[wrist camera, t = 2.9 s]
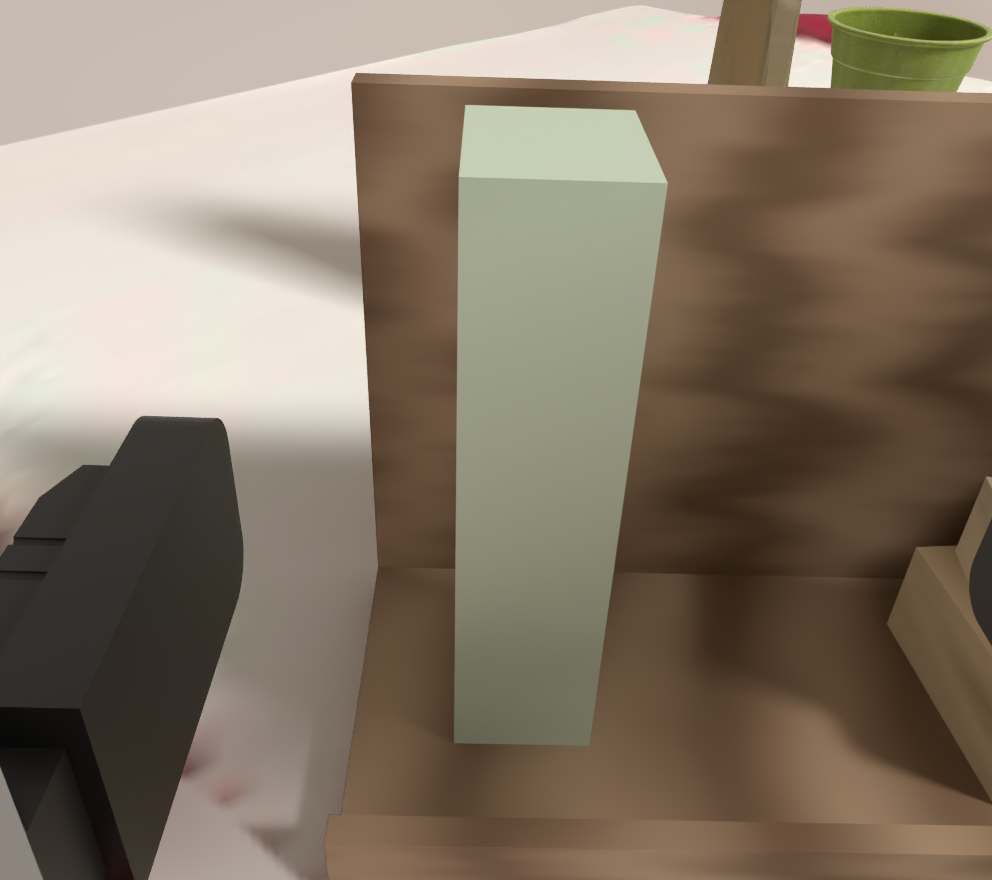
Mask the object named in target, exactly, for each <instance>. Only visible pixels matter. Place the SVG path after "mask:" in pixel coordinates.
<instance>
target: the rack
mask: <svg viewBox="0 0 992 880" xmlns="http://www.w3.org/2000/svg"><path fill="white" fill-rule="evenodd" d="M351 86H352V104H353V122H354V140H355V158H356V176H357V194H358V212H359V230H360V248H361V266H362V284H363V302H364V320H365V338H366V356H367V374H368V392H369V410H370V428H371V446H372V464H373V482H374V500H375V518H376V536H377V554H378V572H377V579H376V585H375V592H374V598H373V605H372V612H371V618H370V625H369V632H368V638H367V645H366V652H365V658H364V665H363V672H362V678H361V685H360V691H359V698H358V705H357V711H356V718H355V725H354V731H353V738H352V745H351V751H350V758H349V764H348V771H347V778H346V784H345V791H344V798H343V804H342V811H341V815H329V816H328V822H327V828H326V834H325V840H324V850H325V857H326V865H327V873H328V880H992V801H991V799H990V798H989V796H988V794H987V793H986V791H985V789H984V788H983V786H982V784H981V782H980V781H979V779H978V777H977V776H976V774H975V772H974V771H973V769H972V767H971V766H970V764H969V762H968V760H967V759H966V757H965V755H964V754H963V752H962V750H961V749H960V747H959V745H958V744H957V742H956V740H955V738H954V737H953V735H952V733H951V732H950V730H949V728H948V727H947V725H946V723H945V722H944V720H943V718H942V716H941V715H940V713H939V711H938V710H937V708H936V706H935V705H934V703H933V701H932V699H931V698H930V696H929V694H928V693H927V691H926V689H925V688H924V686H923V684H922V683H921V681H920V679H919V677H918V676H917V674H916V672H915V671H914V669H913V667H912V666H911V664H910V662H909V661H908V659H907V657H906V655H905V654H904V652H903V650H902V649H901V647H900V645H899V644H898V642H897V640H896V639H895V637H894V635H893V633H892V632H891V630H890V628H889V627H888V625H887V622H888V619H889V617H890V614H891V612H892V609H893V606H894V604H895V601H896V599H897V596H898V593H899V591H900V588H901V586H902V583H903V580H904V578H905V575H906V572H907V570H908V567H909V565H910V562H911V559H912V557H913V554H914V552H915V549H916V547H931V546H957V545H958V543H959V540H960V538H961V536H962V533H963V531H964V528H965V526H966V524H967V521H968V519H969V516H970V514H971V512H972V509H973V507H974V504H975V502H976V500H977V497H978V495H979V492H980V490H981V488H982V485H983V483H984V480H985V478H986V477H992V94H990V93H959V92H928V91H897V90H866V89H835V88H804V87H773V86H742V85H711V84H680V83H649V82H618V81H587V80H556V79H525V78H494V77H463V76H432V75H401V74H370V73H356V74H355V76H354V78H353V80H352V82H351ZM465 105H483V106H515V107H546V108H578V109H609V110H635V111H636V113H637V115H638V117H639V120H640V122H641V124H642V126H643V129H644V131H645V133H646V135H647V138H648V140H649V142H650V144H651V147H652V149H653V151H654V153H655V155H656V158H657V160H658V162H659V164H660V167H661V169H662V171H663V173H664V176H665V178H666V180H667V182H668V186H667V193H666V200H665V208H664V215H663V222H662V229H661V236H660V243H659V250H658V258H657V265H656V272H655V279H654V286H653V293H652V300H651V308H650V315H649V322H648V329H647V336H646V343H645V351H644V358H643V365H642V372H641V379H640V386H639V393H638V401H637V408H636V415H635V422H634V429H633V436H632V444H631V451H630V458H629V465H628V472H627V479H626V486H625V494H624V501H623V508H622V515H621V522H620V529H619V537H618V544H617V551H616V558H615V565H614V572H613V579H612V587H611V594H610V601H609V608H608V615H607V622H606V629H605V637H604V644H603V651H602V658H601V665H600V672H599V680H598V687H597V694H596V701H595V708H594V715H593V722H592V730H591V737H590V744H589V746H576V745H523V744H469V743H454V678H455V558H456V439H457V320H458V200H459V168H460V158H461V147H462V136H463V126H464V115H465Z"/></svg>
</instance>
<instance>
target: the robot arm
mask: <svg viewBox="0 0 992 880" xmlns="http://www.w3.org/2000/svg"><path fill="white" fill-rule="evenodd" d="M242 572H243V538H242V531H241V524H240V517H239V511H238V504H237V497H236V490H235V483H234V477H233V470H232V463H231V456H230V449H229V443H228V437H227V432H226V429H225V426H224V424H223V422H222V421H221V420H220V419H218V418H193V417H161V416H142V417H140V418H138V419H137V420H136V422H135V423H134V425H133V426H132V428H131V430H130V431H129V433H128V435H127V437H126V438H125V440H124V442H123V443H122V445H121V447H120V449H119V450H118V452H117V454H116V455H115V457H114V459H113V461H112V462H111V464H110V466H99V465H82V466H81V467H80V468H78V469H77V470H76V471H74V472H73V473H72V474H70V475H69V476H68V477H66V478H65V479H64V480H62V481H61V482H60V483H58V484H57V485H56V486H54V487H53V488H52V489H50V490H49V491H48V492H46V493H45V494H44V495H42V496H41V497H39V499H38V500H37V502H36V503H35V505H34V506H33V508H32V510H31V511H30V513H29V514H28V516H27V517H26V519H25V520H24V522H23V523H22V525H21V526H20V528H19V529H18V531H17V532H16V534H15V535H14V543H13V545H8V546H7V548H6V549H5V551H4V552H3V554H2V555H1V557H0V880H148V878H149V875H150V872H151V868H152V865H153V862H154V859H155V855H156V853H157V849H158V847H159V843H160V840H161V837H162V834H163V831H164V828H165V825H166V822H167V818H168V815H169V812H170V809H171V806H172V803H173V800H174V797H175V793H176V791H177V787H178V784H179V781H180V778H181V775H182V772H183V769H184V766H185V763H186V759H187V756H188V753H189V750H190V747H191V744H192V741H193V738H194V735H195V731H196V728H197V725H198V722H199V719H200V716H201V713H202V710H203V706H204V703H205V700H206V697H207V694H208V691H209V688H210V685H211V682H212V678H213V675H214V672H215V669H216V666H217V663H218V660H219V657H220V654H221V650H222V647H223V644H224V641H225V638H226V635H227V632H228V629H229V626H230V622H231V619H232V616H233V613H234V610H235V607H236V604H237V600H238V597H239V592H240V587H241V581H242ZM969 593H970V601H971V606H972V609H973V613H974V615H975V618H976V620H977V622H978V624H979V626H980V627H981V629H982V631H983V632H984V634H985V636H986V638H987V639H988V641H989V643H990V644H991V646H992V519H991V521H990V523H989V525H988V528H987V530H986V532H985V535H984V537H983V539H982V541H981V544H980V546H979V548H978V551H977V553H976V555H975V557H974V560H973V563H972V566H971V571H970V578H969Z"/></svg>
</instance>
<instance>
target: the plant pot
mask: <svg viewBox="0 0 992 880" xmlns="http://www.w3.org/2000/svg"><path fill="white" fill-rule="evenodd" d="M827 19H828V22H829V23H830V24H831V25H832V45H831V55H832V57H833V64H832V78H831V88H835V89H866V90H897V91H928V92H957V90H958V87H959V85H960V84H961V82H962V80H963V78H964V76H965V74H966V73H967V72H968V71H970V69H971V67H972V65H973V63H974V61H975V59H976V57H977V55H978V53H979V51H980V49H981V47H982V46H983V44H984V43H985V42H988V41H989V40H991V39H992V30H991V29H990V28H989V27H987V26H985V25H983V24H981V23H978V22H974V21H971V20H968V19H964V18H960V17H955V16H950V15H945V14H940V13H933V12H927V11H918V10H910V9H897V8H882V7H881V8H880V7H858V8H846V9H840V10H835V11H833V12H830V13H829V14H828V16H827Z"/></svg>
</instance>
